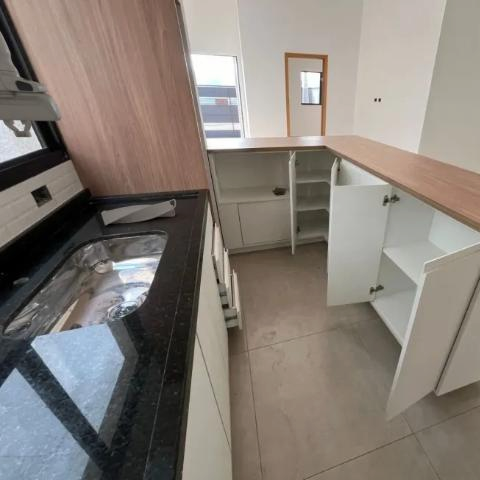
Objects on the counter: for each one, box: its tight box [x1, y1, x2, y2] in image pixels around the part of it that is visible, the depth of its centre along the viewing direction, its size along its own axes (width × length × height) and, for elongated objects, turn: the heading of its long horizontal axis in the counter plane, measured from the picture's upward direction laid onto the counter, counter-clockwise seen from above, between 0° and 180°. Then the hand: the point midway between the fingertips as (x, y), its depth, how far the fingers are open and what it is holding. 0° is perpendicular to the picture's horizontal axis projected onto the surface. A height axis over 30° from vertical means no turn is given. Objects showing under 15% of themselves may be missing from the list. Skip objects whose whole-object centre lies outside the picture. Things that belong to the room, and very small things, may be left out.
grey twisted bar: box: [100, 198, 177, 226], centre depth 118 cm, size 8×8×28 cm
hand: (24, 137), depth 78 cm, fingers closed
